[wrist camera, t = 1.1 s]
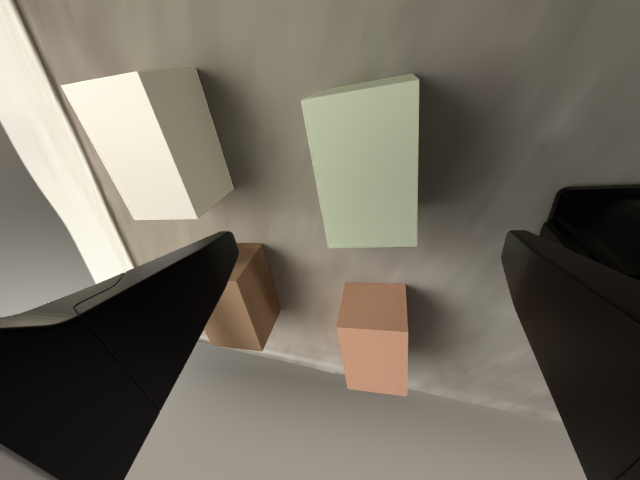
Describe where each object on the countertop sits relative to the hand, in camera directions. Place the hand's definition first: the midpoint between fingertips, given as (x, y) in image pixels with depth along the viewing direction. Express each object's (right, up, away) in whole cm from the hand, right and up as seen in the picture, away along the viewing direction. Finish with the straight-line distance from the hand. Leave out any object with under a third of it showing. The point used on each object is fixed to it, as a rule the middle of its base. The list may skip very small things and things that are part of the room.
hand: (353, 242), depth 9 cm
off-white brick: (-11, +8, +11) cm, 17 cm away
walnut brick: (-8, -3, +17) cm, 19 cm away
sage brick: (+2, +6, +9) cm, 11 cm away
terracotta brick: (+4, -7, +16) cm, 18 cm away
